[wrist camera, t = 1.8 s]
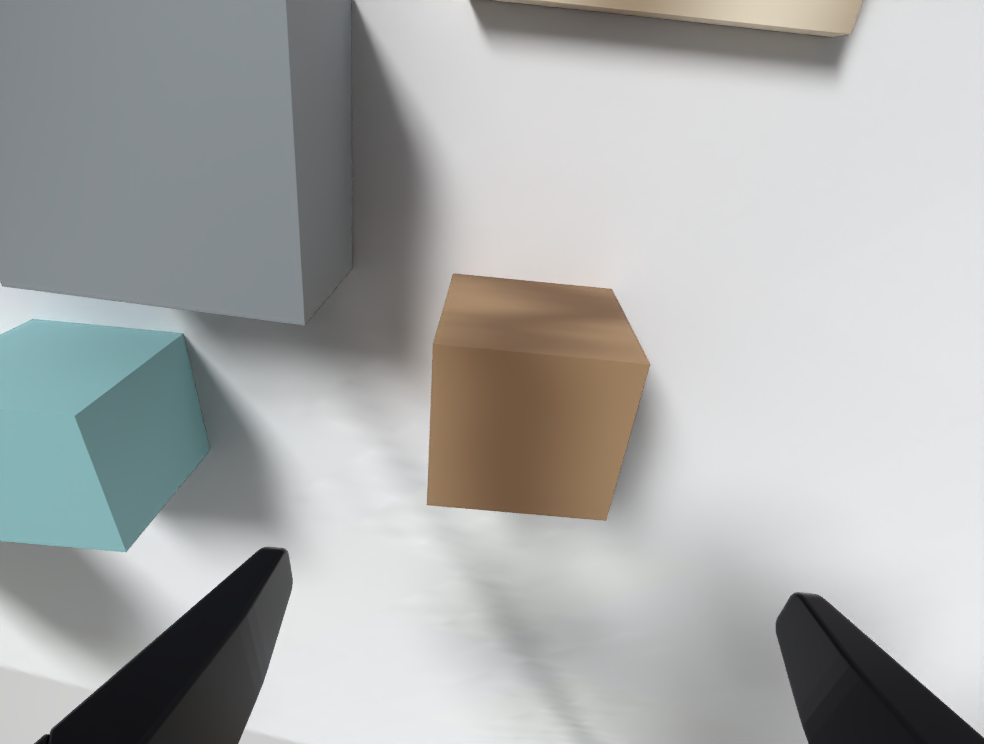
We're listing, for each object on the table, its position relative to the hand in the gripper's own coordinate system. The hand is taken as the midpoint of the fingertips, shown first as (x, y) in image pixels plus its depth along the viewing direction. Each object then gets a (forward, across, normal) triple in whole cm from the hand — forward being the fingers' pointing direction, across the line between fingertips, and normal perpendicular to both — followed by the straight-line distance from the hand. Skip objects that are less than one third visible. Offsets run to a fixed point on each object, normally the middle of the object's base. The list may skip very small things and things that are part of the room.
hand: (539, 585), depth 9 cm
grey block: (+9, +9, -6) cm, 14 cm away
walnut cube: (+9, 0, 0) cm, 9 cm away
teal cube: (+9, +14, +3) cm, 17 cm away
